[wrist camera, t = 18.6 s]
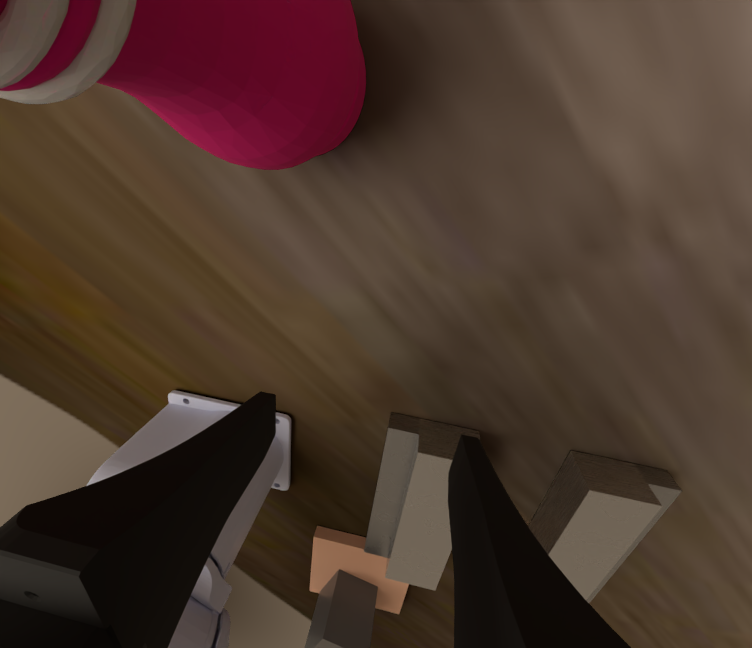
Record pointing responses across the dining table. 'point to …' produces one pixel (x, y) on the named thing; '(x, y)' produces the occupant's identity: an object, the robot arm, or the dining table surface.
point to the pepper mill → (199, 67)
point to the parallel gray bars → (549, 525)
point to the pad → (353, 566)
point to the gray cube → (343, 613)
